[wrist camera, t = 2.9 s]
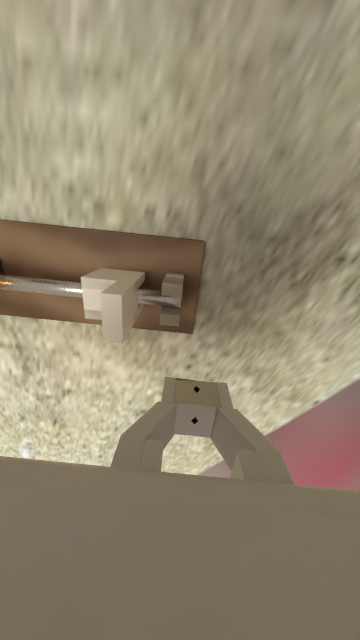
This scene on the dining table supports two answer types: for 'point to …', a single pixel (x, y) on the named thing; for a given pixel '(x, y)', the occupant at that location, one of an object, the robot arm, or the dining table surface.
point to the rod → (75, 289)
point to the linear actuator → (92, 254)
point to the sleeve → (112, 300)
